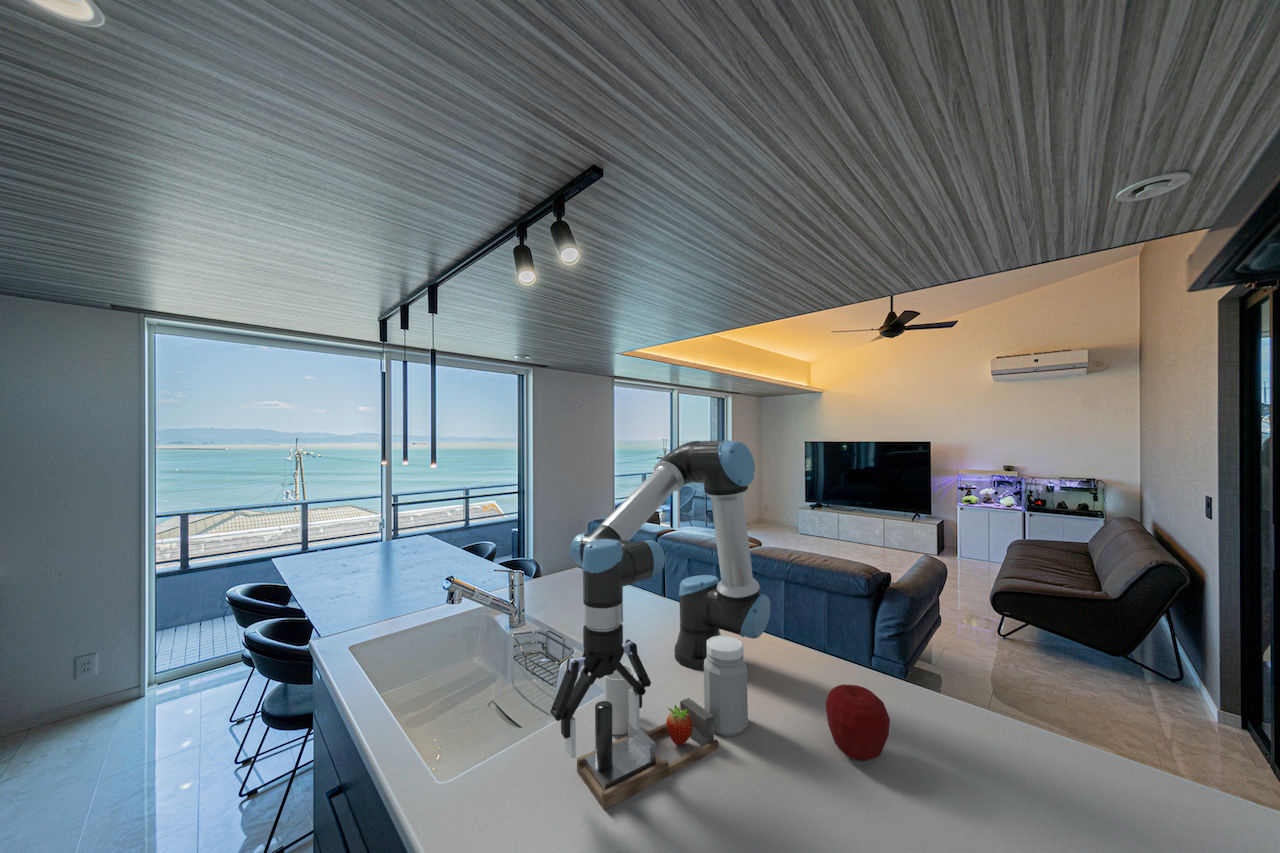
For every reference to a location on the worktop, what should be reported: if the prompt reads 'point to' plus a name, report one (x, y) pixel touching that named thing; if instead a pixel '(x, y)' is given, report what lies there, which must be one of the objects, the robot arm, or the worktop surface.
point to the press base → (662, 769)
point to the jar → (726, 685)
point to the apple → (857, 721)
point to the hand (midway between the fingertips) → (603, 739)
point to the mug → (618, 700)
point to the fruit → (679, 726)
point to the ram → (618, 751)
